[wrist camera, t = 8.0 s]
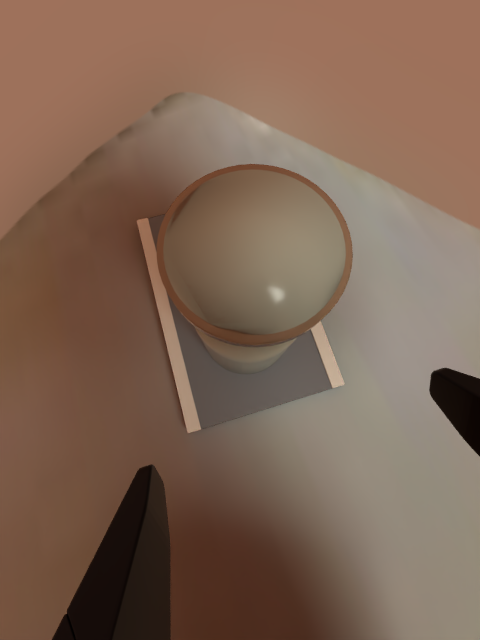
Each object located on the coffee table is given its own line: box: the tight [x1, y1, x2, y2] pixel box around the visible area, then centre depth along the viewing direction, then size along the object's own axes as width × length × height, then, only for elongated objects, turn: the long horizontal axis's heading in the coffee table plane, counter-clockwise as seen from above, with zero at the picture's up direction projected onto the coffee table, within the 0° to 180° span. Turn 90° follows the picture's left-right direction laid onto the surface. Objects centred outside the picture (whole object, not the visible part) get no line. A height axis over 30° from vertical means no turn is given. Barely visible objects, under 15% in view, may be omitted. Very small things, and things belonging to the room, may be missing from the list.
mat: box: [137, 214, 345, 433], centre depth 21 cm, size 15×10×1 cm, turn 17°
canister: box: [157, 164, 353, 374], centre depth 15 cm, size 6×6×12 cm
